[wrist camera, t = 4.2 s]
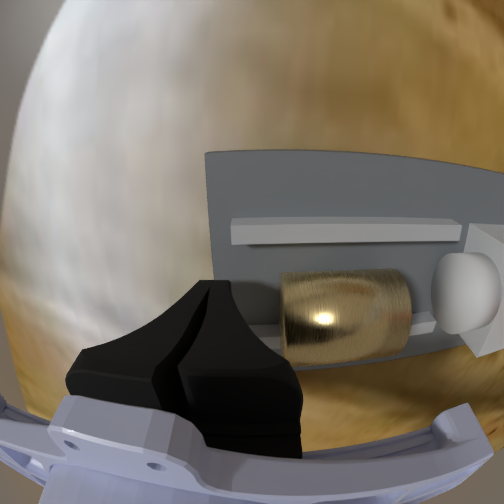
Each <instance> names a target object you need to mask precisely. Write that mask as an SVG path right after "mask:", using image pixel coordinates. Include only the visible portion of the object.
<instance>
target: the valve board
mask: <svg viewBox="0 0 504 504" xmlns="http://www.w3.org/2000/svg"><path fill="white" fill-rule="evenodd" d="M205 170H206V186H207V201H208V215H209V228H210V240H211V251H212V262H213V273H214V280H229V281H230V282H231V290H232V296H233V299H234V301H235V303H236V306H237V308H238V310H239V312H240V314H241V315H242V317H243V319H244V320H245V322H246V323H247V325H248V326H249V327H250V329H251V330H252V331H253V332H254V333H255V335H256V336H257V337H258V338H259V339H260V340H261V341H262V342H263V343H264V344H266V345H267V346H268V347H269V348H270V349H271V350H273V351H274V352H276V353H277V354H279V355H280V356H281V351H280V337H279V279H280V274H281V272H308V271H336V270H360V269H382V268H393V269H396V270H397V271H398V272H399V273H400V274H401V275H402V277H403V278H404V280H405V282H406V285H407V288H408V291H409V295H410V300H411V308H412V321H411V329H410V334H409V338H408V341H407V343H406V345H405V347H404V349H403V350H402V351H401V352H400V353H399V354H397V355H393V356H387V357H380V358H374V359H366V360H359V361H350V362H341V363H331V364H320V365H308V366H292V368H293V370H294V371H301V370H315V369H326V368H336V367H345V366H354V365H362V364H369V363H376V362H383V361H389V360H395V359H401V358H406V357H411V356H417V355H422V354H426V353H431V352H436V351H440V350H444V349H449V348H453V347H457V346H461V345H465V344H467V345H468V347H469V348H470V349H471V351H472V352H473V353H474V355H475V356H476V357H480V356H483V355H486V354H489V353H492V352H495V351H498V350H500V349H503V348H504V173H500V172H495V171H491V170H486V169H481V168H476V167H471V166H466V165H460V164H455V163H449V162H442V161H436V160H429V159H422V158H414V157H406V156H397V155H387V154H376V153H364V152H349V151H329V150H234V151H214V152H207V153H205Z"/></svg>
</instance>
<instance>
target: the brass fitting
mask: <svg viewBox="0 0 504 504" xmlns="http://www.w3.org/2000/svg"><path fill="white" fill-rule="evenodd" d="M411 321H412V308H411V300H410V295H409V291H408V288H407V285H406V282H405V280H404V278H403V277H402V275H401V274H400V273H399V272H398V271H397V270H396V269H393V268H382V269H360V270H336V271H308V272H281V274H280V279H279V337H280V351H281V356H282V357H284V358H285V359H287V360H288V361H289V363H290V364H291V366H308V365H320V364H331V363H341V362H350V361H359V360H366V359H374V358H380V357H387V356H393V355H397V354H399V353H400V352H401V351H402V350H403V349H404V347H405V345H406V343H407V341H408V338H409V334H410V329H411Z"/></svg>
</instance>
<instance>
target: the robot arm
mask: <svg viewBox="0 0 504 504" xmlns="http://www.w3.org/2000/svg"><path fill="white" fill-rule="evenodd" d="M65 381H66V386H67V389H68V391H69V393H70V395H65V397H64V398H63V400H62V401H61V403H60V405H59V407H58V408H57V410H56V412H55V414H54V416H53V418H52V420H51V421H49V420H46V419H43V418H41V417H38V416H36V415H33V414H31V413H28V412H26V411H23V410H21V409H19V408H16V407H14V406H12V405H10V404H8V403H7V402H6V400H5V399H4V397H3V396H2V395H1V393H0V460H1V461H2V462H4V463H5V464H7V465H8V466H10V467H12V468H13V469H15V470H16V471H18V472H19V473H21V474H23V475H25V476H26V477H27V478H29V479H31V480H33V481H34V482H36V483H38V484H39V485H41V486H43V487H44V490H43V492H42V495H41V498H40V501H39V504H418V503H420V502H423V501H425V500H427V499H430V498H432V497H434V496H437V495H439V494H441V493H443V492H445V491H448V490H450V489H452V488H454V487H456V486H458V485H459V484H460V483H462V482H463V481H464V480H465V479H466V478H468V477H469V476H470V475H471V474H472V473H474V472H475V471H476V470H477V469H478V468H480V467H481V466H482V465H483V464H484V463H485V462H486V461H487V460H488V459H489V458H490V457H491V456H493V454H494V451H493V449H492V447H491V445H490V443H489V441H488V439H487V437H486V435H485V433H484V431H483V429H482V427H481V425H480V423H479V422H478V420H477V418H476V416H475V414H474V412H473V411H472V409H471V407H470V405H469V404H468V403H464V404H461V405H459V406H456V407H453V408H450V409H448V410H445V411H443V412H441V413H440V414H439V415H438V416H437V417H436V418H435V419H434V420H433V422H432V424H431V426H429V427H426V428H423V429H420V430H416V431H413V432H409V433H406V434H402V435H398V436H394V437H390V438H386V439H382V440H377V441H373V442H368V443H363V444H358V445H352V446H346V447H340V448H333V449H326V450H318V451H308V452H302V446H301V437H300V434H301V425H300V417H301V411H302V406H303V394H302V390H301V387H300V384H299V381H298V379H297V376H296V374H295V372H294V370H293V368H292V366H291V364H290V363H289V361H288V360H287V359H285V358H284V357H282V356H280V355H279V354H277V353H276V352H274V351H273V350H271V349H270V348H269V347H268V346H267V345H266V344H264V343H263V342H262V341H261V340H260V339H259V338H258V337H257V336H256V335H255V333H254V332H253V331H252V330H251V329H250V327H249V326H248V325H247V323H246V322H245V320H244V319H243V317H242V315H241V314H240V312H239V310H238V308H237V306H236V303H235V301H234V299H233V296H232V290H231V282H230V281H229V280H199V281H198V282H197V283H196V284H195V285H194V286H193V287H192V288H191V289H190V290H189V291H188V292H187V293H186V294H185V295H184V296H183V297H182V298H181V299H180V300H178V301H177V302H176V303H175V304H174V305H172V306H171V307H170V308H169V309H168V310H166V311H165V312H164V313H163V314H161V315H160V316H159V317H157V318H156V319H154V320H153V321H151V322H149V323H148V324H146V325H145V326H143V327H141V328H139V329H137V330H135V331H133V332H131V333H129V334H127V335H125V336H123V337H120V338H118V339H115V340H113V341H110V342H107V343H104V344H101V345H97V346H94V347H90V348H87V349H82V351H81V352H80V354H79V355H78V357H77V358H76V360H75V362H74V363H73V365H72V367H71V368H70V370H69V371H68V373H67V375H66V379H65Z"/></svg>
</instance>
